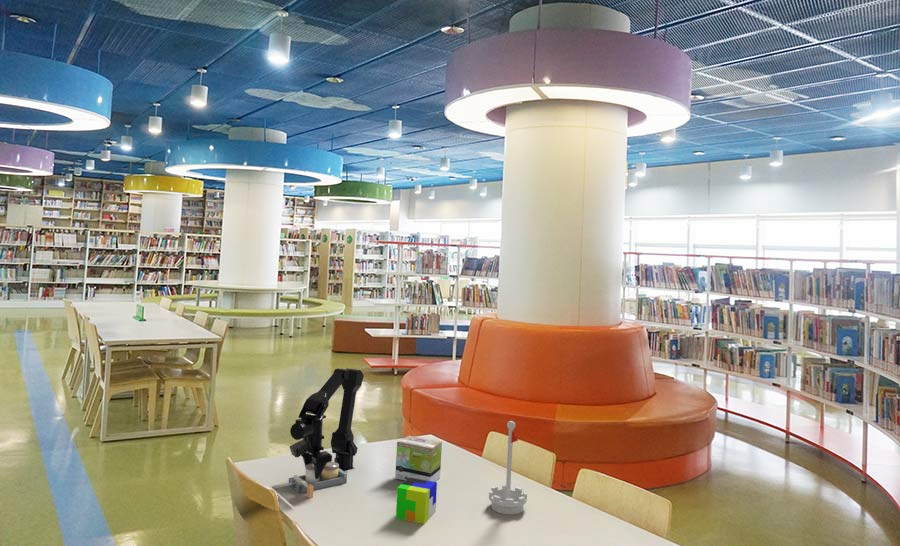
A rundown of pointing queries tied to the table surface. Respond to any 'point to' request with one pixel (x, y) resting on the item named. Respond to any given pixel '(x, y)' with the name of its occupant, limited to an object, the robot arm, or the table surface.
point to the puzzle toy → (416, 500)
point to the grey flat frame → (320, 482)
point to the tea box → (418, 459)
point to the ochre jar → (330, 471)
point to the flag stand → (508, 486)
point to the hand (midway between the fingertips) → (312, 475)
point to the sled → (301, 482)
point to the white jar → (310, 474)
